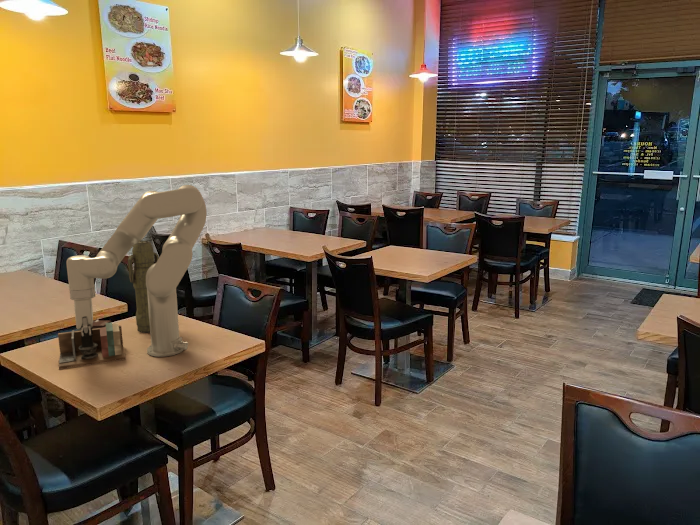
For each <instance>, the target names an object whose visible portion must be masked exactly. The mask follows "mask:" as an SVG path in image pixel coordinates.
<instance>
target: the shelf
mask: <svg viewBox="0 0 700 525" xmlns="http://www.w3.org/2000/svg"><path fill="white" fill-rule="evenodd" d="M92 333H93V336H92V339H93V343H96V344H98V346H97V350H96V351H95V352H94V353H97V354H98V356H97V357H95V358H92V359H81V356H83V355H84V354H82V353H81V351H80V349H79V347H80V346H81V345H82V339H81V336H82V333H81V329H79V330H74V334H75V343H76V361H74V362H68V363H61V364H59V363H58V370H63V369H70V368H78V367H84V366H90V365H96V364H97V365H98V364H103V363H110V362H117V361H123V360H126V353H125V349H124V348H125V347H124V342H123V341H124V339H123V330H122V324H119V323H118V322H115V323H113V322H111V323H106V327H103V328H96V329H92ZM57 337H58V346H59V352H60V353H66V352H73V348H72V331H66V332H58V333H57ZM60 353H59V354H60Z"/></svg>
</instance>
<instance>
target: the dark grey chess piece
mask: <svg viewBox="0 0 700 525" xmlns="http://www.w3.org/2000/svg"><path fill="white" fill-rule="evenodd" d="M88 326H89V325H88ZM82 327H83V326H82ZM81 333H82V331H81ZM97 346H98V344H96V343H93V346H92V347H85V348H83V347H82V345H81V346H80V347H79V349H80V351H81V353H82V354H84V355H83V356H81V359H92V358H95V357H97V356H98V354H97V353H94V352H95V351H96V350H97Z"/></svg>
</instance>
